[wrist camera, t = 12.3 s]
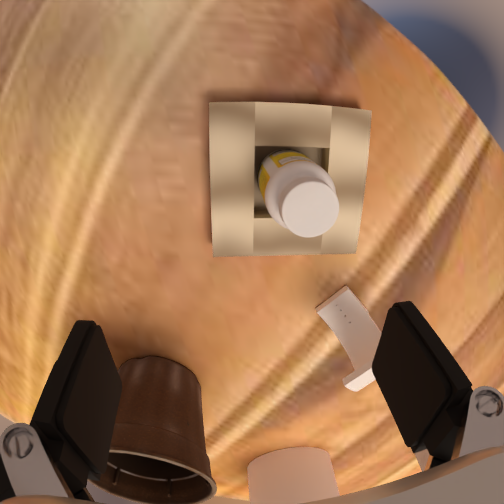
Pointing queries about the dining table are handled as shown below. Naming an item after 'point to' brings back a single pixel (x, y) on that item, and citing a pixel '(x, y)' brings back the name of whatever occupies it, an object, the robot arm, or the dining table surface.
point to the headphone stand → (352, 334)
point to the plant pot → (158, 437)
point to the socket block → (272, 139)
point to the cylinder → (291, 476)
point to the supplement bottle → (298, 193)
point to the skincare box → (422, 458)
